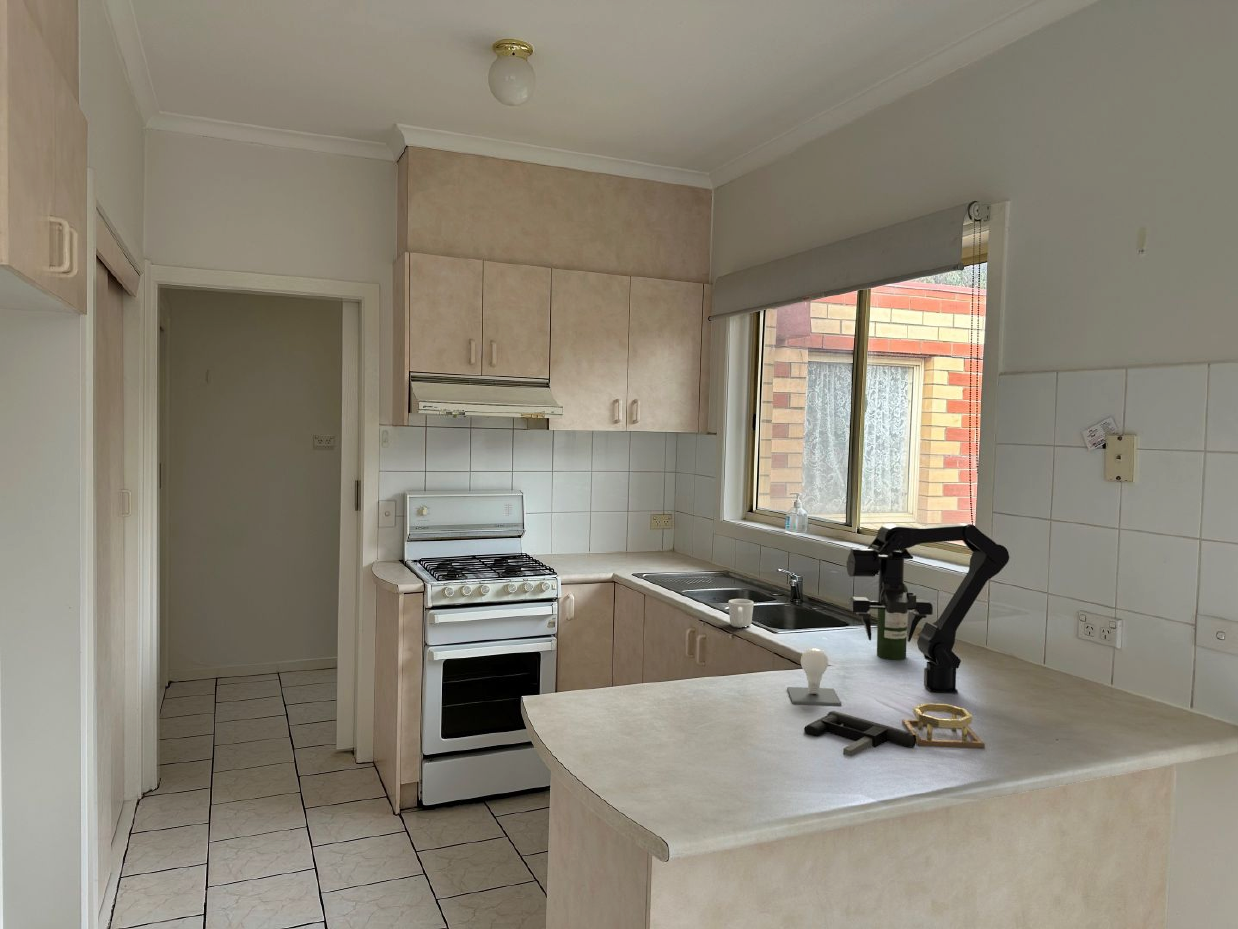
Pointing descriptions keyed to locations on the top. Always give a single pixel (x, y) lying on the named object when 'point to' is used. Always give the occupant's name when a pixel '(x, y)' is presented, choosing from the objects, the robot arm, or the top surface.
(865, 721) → the door handle
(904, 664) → the top surface
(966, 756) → the top surface
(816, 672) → the lightbulb
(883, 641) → the wine bottle
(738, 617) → the cup
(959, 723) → the ring stand
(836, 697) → the mat
